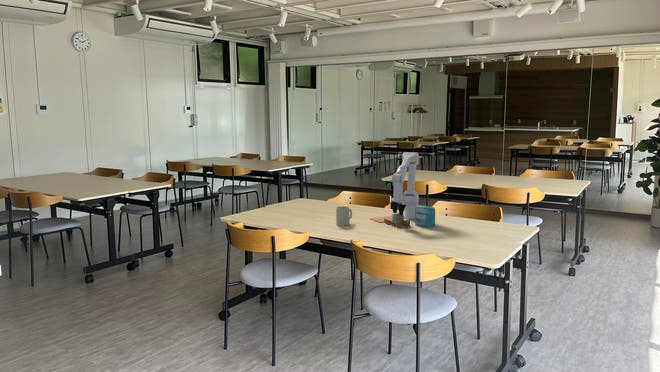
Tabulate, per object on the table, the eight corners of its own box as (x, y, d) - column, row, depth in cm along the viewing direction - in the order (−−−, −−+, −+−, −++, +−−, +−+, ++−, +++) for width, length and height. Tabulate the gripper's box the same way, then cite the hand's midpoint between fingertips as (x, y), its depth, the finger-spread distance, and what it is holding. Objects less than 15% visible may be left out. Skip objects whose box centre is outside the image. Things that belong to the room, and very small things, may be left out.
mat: (391, 216, 352) (391, 216, 352) (400, 220, 340) (400, 219, 340) (369, 219, 346) (369, 218, 346) (378, 222, 334) (378, 222, 334)
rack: (397, 221, 338) (397, 215, 337) (410, 226, 323) (410, 220, 322) (384, 222, 334) (384, 216, 334) (396, 227, 319) (396, 221, 319)
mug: (342, 226, 325) (342, 209, 323) (333, 224, 331) (333, 207, 330) (356, 223, 333) (356, 206, 331) (347, 221, 339) (347, 205, 338)
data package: (414, 225, 326) (414, 206, 325) (418, 223, 330) (418, 205, 328) (431, 227, 319) (431, 208, 317) (435, 226, 322) (435, 207, 320)
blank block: (400, 224, 330) (400, 213, 329) (403, 225, 327) (403, 214, 326) (392, 224, 328) (392, 214, 327) (395, 226, 324) (395, 215, 323)
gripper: (386, 191, 329) (386, 212, 331) (398, 194, 316) (398, 216, 318) (396, 190, 332) (396, 211, 334) (408, 194, 319) (408, 215, 321)
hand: (398, 214), depth 326 cm, fingers open, 7 cm apart
